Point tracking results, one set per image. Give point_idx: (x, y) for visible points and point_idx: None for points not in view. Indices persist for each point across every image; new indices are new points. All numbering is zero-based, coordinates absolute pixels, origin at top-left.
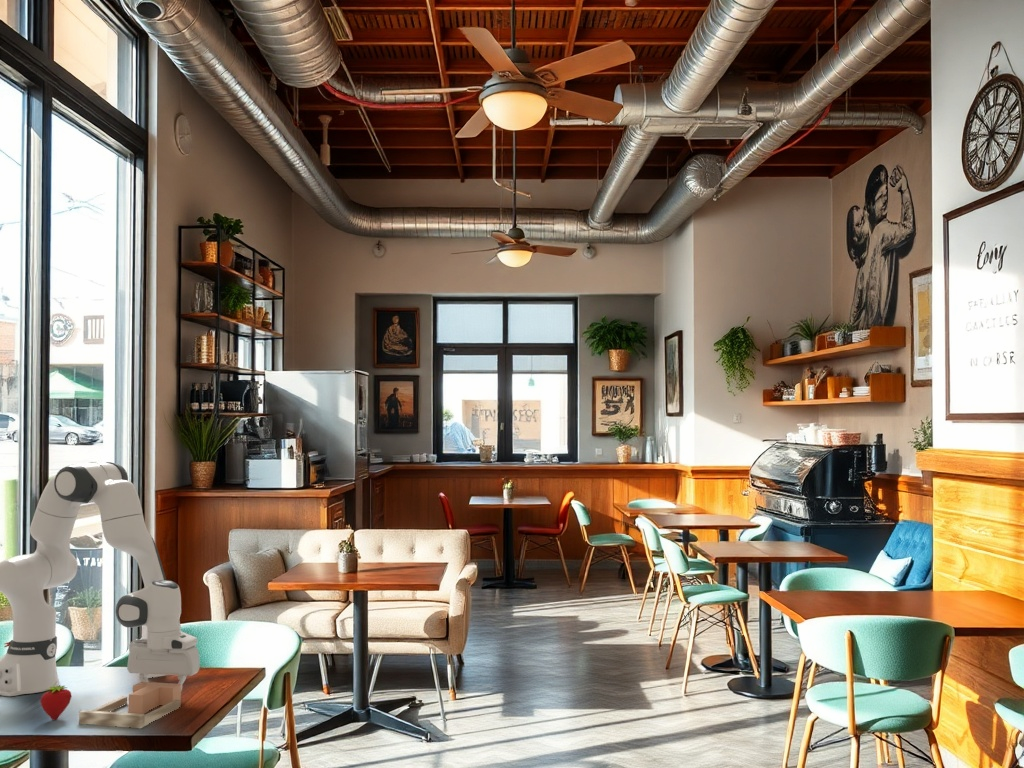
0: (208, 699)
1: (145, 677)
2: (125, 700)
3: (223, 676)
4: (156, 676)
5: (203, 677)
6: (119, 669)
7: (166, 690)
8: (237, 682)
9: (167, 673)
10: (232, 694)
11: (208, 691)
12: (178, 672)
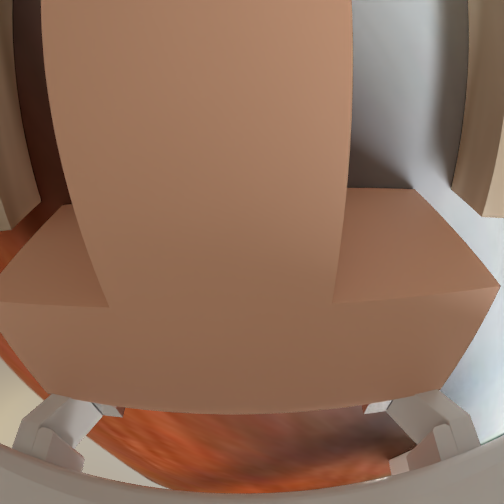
0: None
1: (421, 434)
2: (474, 182)
3: (219, 480)
4: (410, 451)
5: (270, 475)
6: (494, 433)
7: (45, 280)
8: (137, 459)
9: (118, 496)
10: (33, 389)
11: (134, 418)
12: (6, 473)
